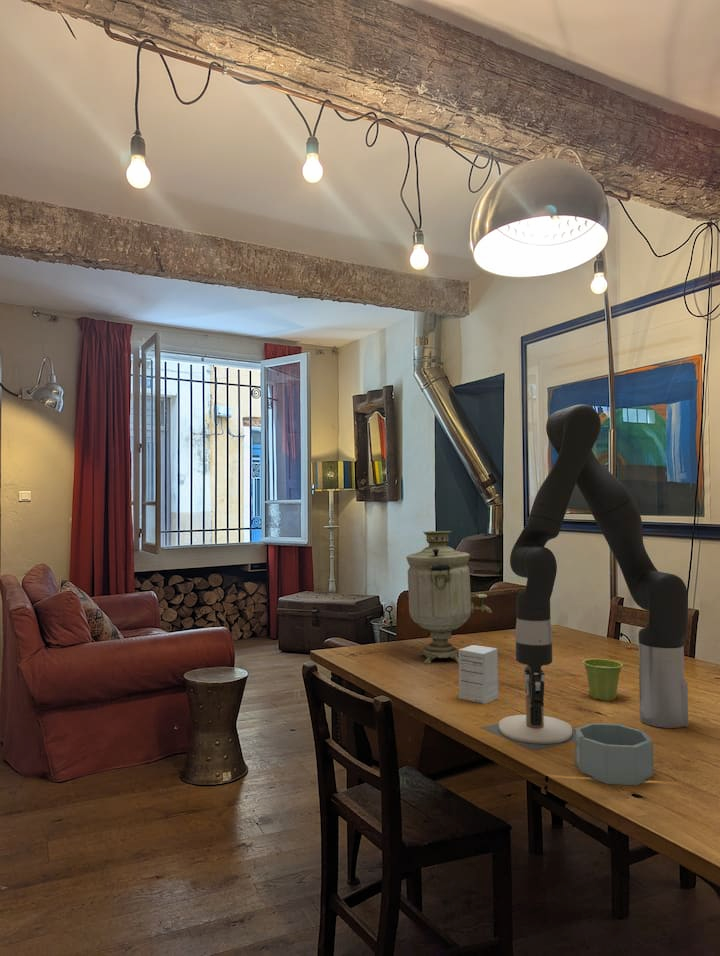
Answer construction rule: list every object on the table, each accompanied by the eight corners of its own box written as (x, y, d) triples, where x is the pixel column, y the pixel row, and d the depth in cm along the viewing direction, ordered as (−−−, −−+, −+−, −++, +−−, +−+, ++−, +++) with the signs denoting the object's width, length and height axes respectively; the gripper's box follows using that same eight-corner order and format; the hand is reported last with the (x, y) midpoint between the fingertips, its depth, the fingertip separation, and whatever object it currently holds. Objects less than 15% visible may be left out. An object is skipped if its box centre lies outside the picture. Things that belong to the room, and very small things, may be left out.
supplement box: (473, 693, 174) (472, 644, 174) (499, 699, 169) (498, 648, 169) (458, 700, 168) (457, 649, 168) (484, 706, 163) (484, 653, 164)
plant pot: (610, 691, 175) (609, 657, 176) (630, 702, 166) (630, 666, 166) (576, 693, 174) (576, 659, 174) (595, 704, 165) (595, 668, 165)
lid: (566, 721, 149) (565, 688, 150) (577, 745, 135) (577, 709, 135) (497, 718, 152) (496, 686, 152) (501, 742, 137) (500, 706, 137)
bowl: (640, 759, 129) (639, 724, 129) (659, 786, 116) (659, 748, 117) (571, 755, 131) (571, 721, 131) (583, 782, 118) (583, 745, 119)
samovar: (483, 674, 193) (482, 534, 194) (395, 667, 201) (394, 533, 203) (497, 652, 221) (496, 530, 223) (419, 647, 229) (418, 529, 231)
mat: (535, 717, 154) (535, 715, 154) (591, 738, 140) (591, 736, 140) (480, 729, 146) (480, 727, 146) (534, 753, 132) (533, 750, 132)
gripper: (556, 647, 136) (558, 733, 136) (547, 633, 150) (548, 712, 150) (518, 646, 137) (519, 732, 137) (513, 633, 151) (514, 710, 151)
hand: (534, 721), depth 143 cm, fingers closed on lid, 3 cm apart
